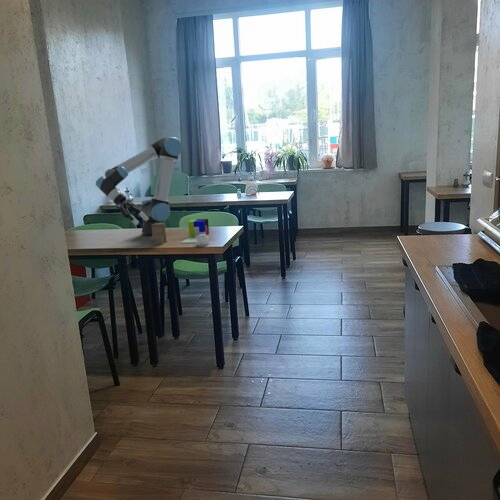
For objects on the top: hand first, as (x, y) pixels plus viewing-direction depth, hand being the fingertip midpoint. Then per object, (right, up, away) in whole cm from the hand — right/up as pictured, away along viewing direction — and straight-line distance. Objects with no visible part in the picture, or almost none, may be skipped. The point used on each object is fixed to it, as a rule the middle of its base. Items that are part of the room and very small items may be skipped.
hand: (142, 221), depth 281 cm
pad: (+32, -11, +3) cm, 34 cm away
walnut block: (+10, -13, +2) cm, 17 cm away
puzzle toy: (+32, -8, +19) cm, 38 cm away
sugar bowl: (+37, -14, -9) cm, 41 cm away
